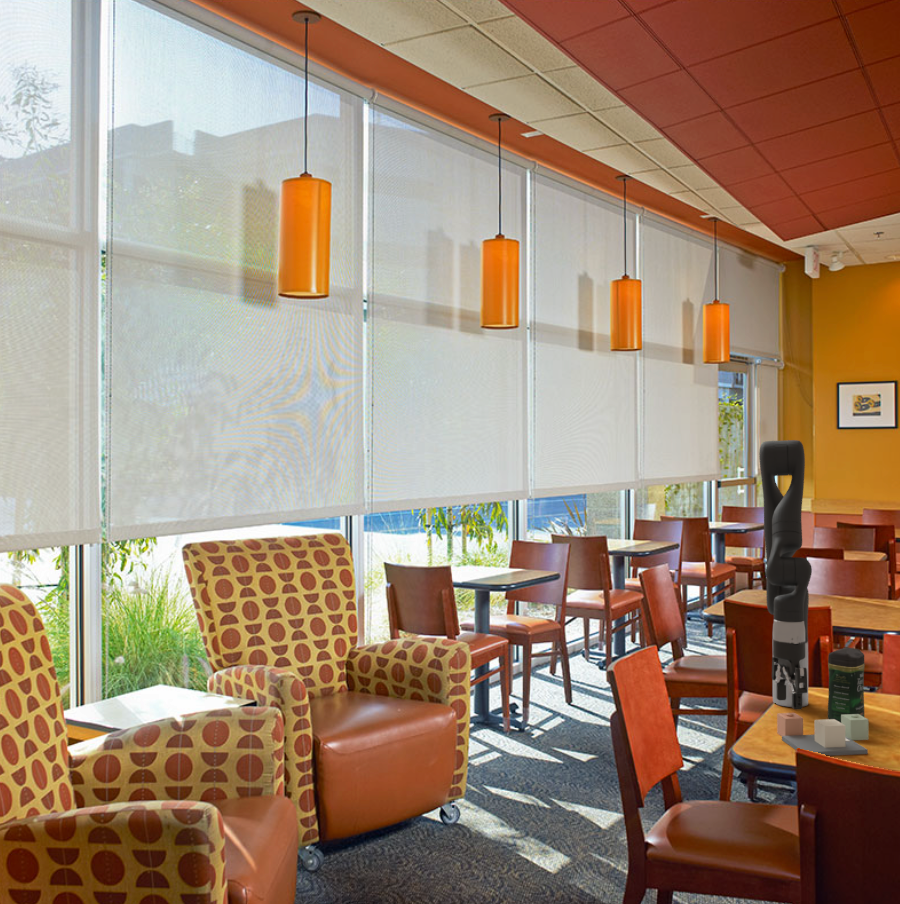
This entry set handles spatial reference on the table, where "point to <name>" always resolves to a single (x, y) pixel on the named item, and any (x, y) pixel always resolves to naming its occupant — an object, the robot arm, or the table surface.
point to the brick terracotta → (789, 724)
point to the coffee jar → (846, 683)
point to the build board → (818, 748)
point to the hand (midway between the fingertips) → (789, 704)
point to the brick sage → (855, 726)
